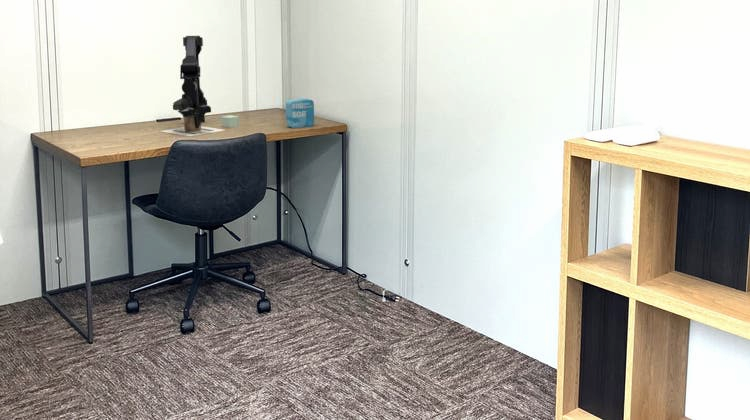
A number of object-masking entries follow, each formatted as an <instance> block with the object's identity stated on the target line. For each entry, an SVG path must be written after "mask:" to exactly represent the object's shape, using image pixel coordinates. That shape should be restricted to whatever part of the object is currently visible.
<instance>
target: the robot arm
mask: <svg viewBox="0 0 750 420" xmlns="http://www.w3.org/2000/svg"><path fill="white" fill-rule="evenodd" d="M182 46H183V47H184V49H185V57H184V58H183V59H182V60H181V64H180V66H179V67H180V70H179V72H180V75H179V77H180V80H183V83H182V85H181V90H182V92H183V93H182V94H181V98H179V99H177V100H176V101H174V102H172V110H173V111H177V113H179V114H181V115H182V117H183V119H184V117H186V116H194V118H195V126H196V129H197V128H199V126H200V123H201V124H202V123H205V122H206V118H205V117H206V116H205V115H206V114H209V113H212V107H211V106H210V105H208V100H207V98H206V97H205V94H204V91H203V90H202V88H201V82H200V81H201V79H200V78H201V66H200V57H199V55H200V53H201V52H202V50H203V49H202V47H203V46H204V38H203V37H202V36H201V35H186V36H183V37H182Z"/></svg>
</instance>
